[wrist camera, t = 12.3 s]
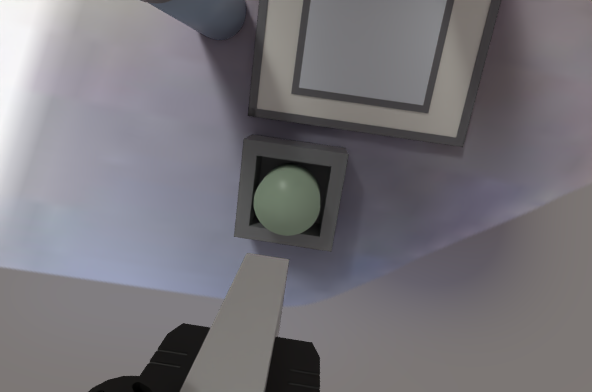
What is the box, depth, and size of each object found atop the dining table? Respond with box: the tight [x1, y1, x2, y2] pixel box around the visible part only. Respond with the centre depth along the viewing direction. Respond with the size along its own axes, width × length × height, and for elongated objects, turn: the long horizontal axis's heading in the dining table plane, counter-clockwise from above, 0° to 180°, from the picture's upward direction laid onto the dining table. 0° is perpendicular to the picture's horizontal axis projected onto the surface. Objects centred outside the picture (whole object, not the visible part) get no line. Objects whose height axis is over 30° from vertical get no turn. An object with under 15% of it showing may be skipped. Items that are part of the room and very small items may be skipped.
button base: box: [234, 135, 349, 252], centre depth 27 cm, size 7×7×3 cm
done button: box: [254, 164, 320, 236], centre depth 25 cm, size 4×4×3 cm
